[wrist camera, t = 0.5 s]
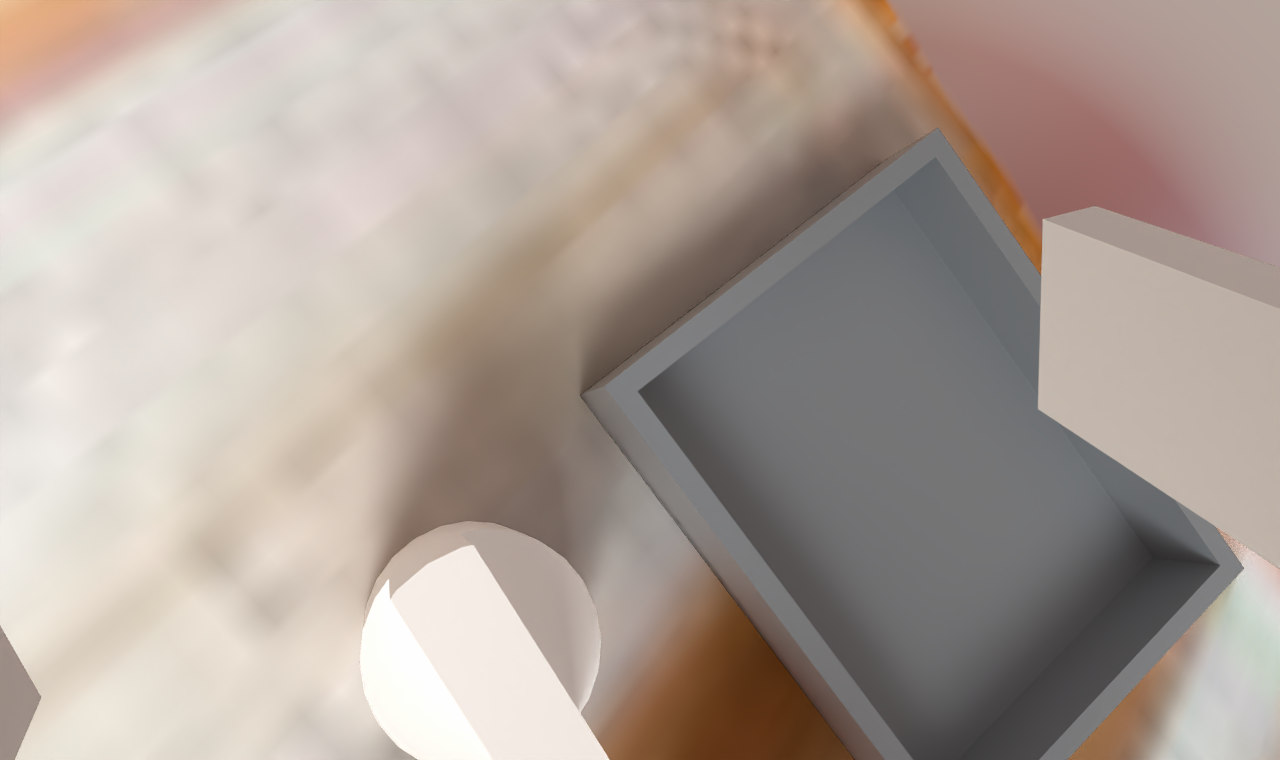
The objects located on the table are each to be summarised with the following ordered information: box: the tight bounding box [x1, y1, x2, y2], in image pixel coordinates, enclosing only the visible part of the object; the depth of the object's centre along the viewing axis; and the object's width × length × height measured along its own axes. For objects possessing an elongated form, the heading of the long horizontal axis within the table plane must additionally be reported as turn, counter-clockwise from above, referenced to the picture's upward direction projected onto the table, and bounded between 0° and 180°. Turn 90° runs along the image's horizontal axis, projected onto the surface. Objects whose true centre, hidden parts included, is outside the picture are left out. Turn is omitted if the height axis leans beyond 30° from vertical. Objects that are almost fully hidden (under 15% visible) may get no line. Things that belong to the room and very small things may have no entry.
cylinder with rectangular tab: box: [359, 521, 610, 760], centre depth 36 cm, size 9×9×12 cm
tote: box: [580, 128, 1244, 760], centre depth 45 cm, size 26×20×5 cm
